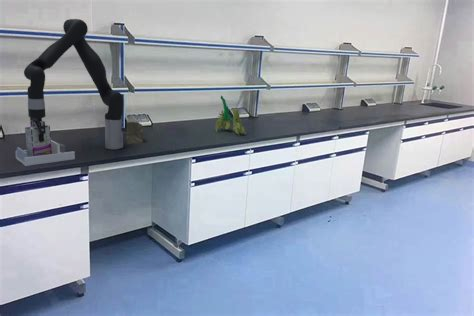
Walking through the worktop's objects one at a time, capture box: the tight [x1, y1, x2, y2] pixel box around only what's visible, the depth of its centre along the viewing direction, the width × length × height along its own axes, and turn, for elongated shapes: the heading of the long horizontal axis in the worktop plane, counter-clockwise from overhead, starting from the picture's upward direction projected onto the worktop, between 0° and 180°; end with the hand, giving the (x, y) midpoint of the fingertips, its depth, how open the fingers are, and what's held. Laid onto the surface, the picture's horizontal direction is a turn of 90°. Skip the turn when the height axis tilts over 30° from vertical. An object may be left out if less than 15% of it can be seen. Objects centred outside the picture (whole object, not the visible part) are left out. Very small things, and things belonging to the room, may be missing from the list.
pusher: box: [51, 139, 66, 154], centre depth 210 cm, size 5×12×7 cm, turn 44°
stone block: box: [125, 118, 144, 145], centre depth 253 cm, size 10×15×15 cm
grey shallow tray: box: [15, 146, 76, 167], centre depth 206 cm, size 24×14×6 cm, turn 134°
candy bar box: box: [24, 124, 52, 157], centre depth 203 cm, size 11×5×16 cm, turn 155°
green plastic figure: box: [214, 95, 247, 135], centre depth 295 cm, size 26×17×30 cm, turn 49°
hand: (38, 139), depth 202 cm, fingers open, 8 cm apart
